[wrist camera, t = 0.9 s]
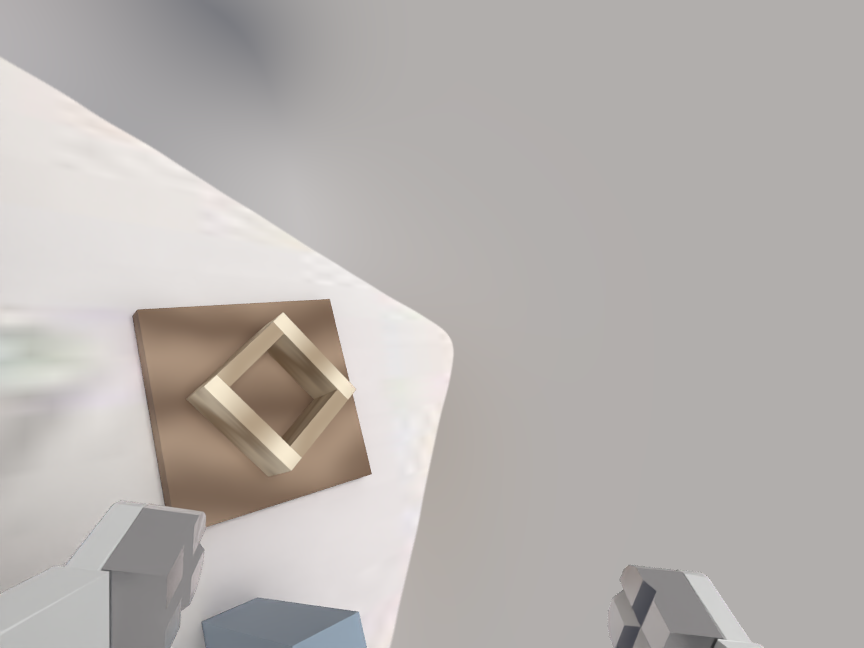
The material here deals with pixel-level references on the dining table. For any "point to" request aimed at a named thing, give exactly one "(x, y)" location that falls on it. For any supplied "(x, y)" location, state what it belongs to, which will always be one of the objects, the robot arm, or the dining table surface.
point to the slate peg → (284, 626)
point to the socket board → (248, 404)
